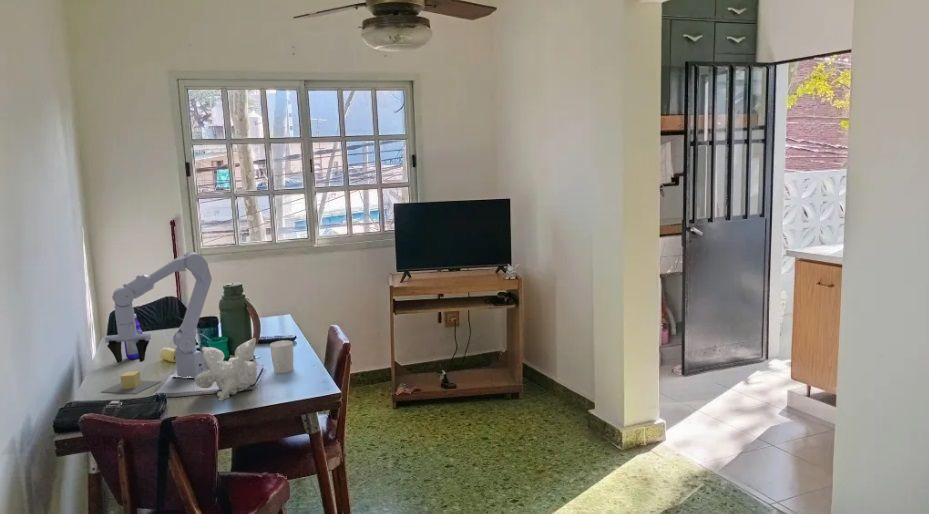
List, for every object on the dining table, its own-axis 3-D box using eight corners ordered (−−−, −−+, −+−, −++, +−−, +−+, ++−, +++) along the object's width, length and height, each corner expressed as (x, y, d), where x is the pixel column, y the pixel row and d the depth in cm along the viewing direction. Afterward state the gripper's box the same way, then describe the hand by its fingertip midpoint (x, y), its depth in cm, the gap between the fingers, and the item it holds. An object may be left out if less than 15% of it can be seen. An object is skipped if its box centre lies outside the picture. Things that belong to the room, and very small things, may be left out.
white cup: (284, 366, 241) (281, 339, 239) (299, 368, 237) (297, 341, 235) (267, 372, 234) (265, 345, 233) (283, 375, 230) (281, 347, 228)
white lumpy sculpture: (268, 349, 230) (251, 332, 212) (268, 406, 222) (250, 394, 204) (213, 355, 229) (191, 339, 211) (211, 413, 221) (188, 401, 203)
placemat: (160, 382, 229) (160, 381, 229) (135, 394, 217) (135, 393, 217) (127, 380, 232) (127, 379, 232) (100, 392, 221) (100, 391, 221)
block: (141, 383, 227) (139, 371, 227) (135, 388, 223) (134, 375, 222) (127, 384, 227) (126, 372, 226) (121, 388, 223) (120, 376, 222)
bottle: (135, 360, 258) (130, 316, 255) (123, 359, 259) (117, 316, 257) (148, 354, 265) (143, 312, 263) (135, 354, 266) (130, 312, 264)
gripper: (152, 319, 227) (157, 357, 229) (110, 321, 227) (115, 359, 229) (143, 324, 220) (148, 363, 222) (99, 326, 220) (105, 365, 222)
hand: (130, 361), depth 225 cm, fingers open, 7 cm apart
